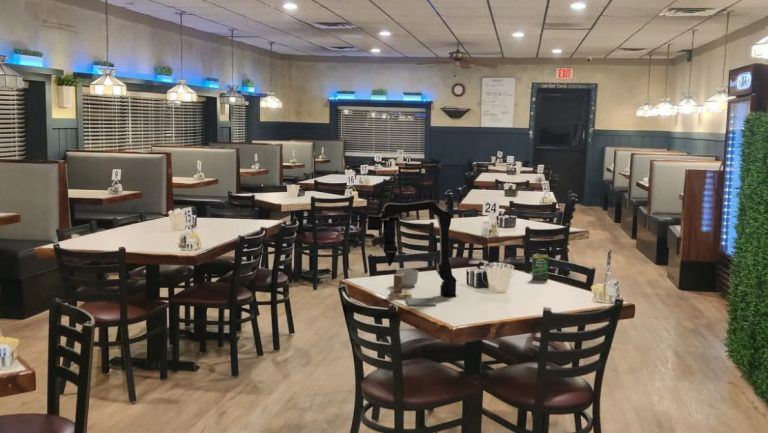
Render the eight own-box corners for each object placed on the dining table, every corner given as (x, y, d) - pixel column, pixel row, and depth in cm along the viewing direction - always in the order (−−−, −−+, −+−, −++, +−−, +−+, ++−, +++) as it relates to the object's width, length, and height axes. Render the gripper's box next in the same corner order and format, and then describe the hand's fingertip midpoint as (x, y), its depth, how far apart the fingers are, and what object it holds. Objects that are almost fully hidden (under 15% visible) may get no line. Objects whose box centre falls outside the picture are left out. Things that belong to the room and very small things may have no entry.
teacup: (402, 282, 375) (403, 266, 374) (422, 285, 369) (422, 269, 368) (388, 287, 363) (389, 271, 362) (408, 290, 357) (408, 273, 356)
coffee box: (532, 279, 387) (533, 255, 386) (531, 278, 390) (532, 254, 389) (547, 280, 387) (548, 255, 385) (546, 279, 390) (547, 254, 388)
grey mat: (432, 299, 338) (432, 298, 338) (435, 306, 326) (435, 304, 326) (405, 299, 337) (405, 298, 337) (408, 306, 325) (408, 304, 325)
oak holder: (409, 294, 349) (409, 289, 349) (411, 298, 339) (411, 294, 339) (390, 293, 349) (390, 289, 348) (391, 298, 339) (391, 294, 338)
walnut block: (400, 295, 346) (401, 274, 345) (401, 297, 342) (402, 275, 341) (393, 295, 345) (393, 274, 344) (394, 297, 342) (394, 275, 341)
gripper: (370, 227, 351) (370, 260, 352) (373, 233, 332) (372, 267, 334) (394, 227, 351) (393, 260, 353) (398, 233, 333) (397, 267, 335)
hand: (388, 264), depth 344 cm, fingers open, 9 cm apart
